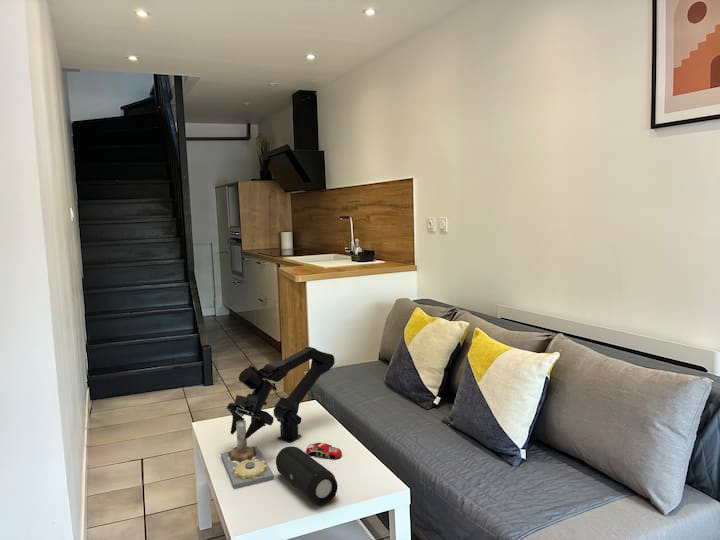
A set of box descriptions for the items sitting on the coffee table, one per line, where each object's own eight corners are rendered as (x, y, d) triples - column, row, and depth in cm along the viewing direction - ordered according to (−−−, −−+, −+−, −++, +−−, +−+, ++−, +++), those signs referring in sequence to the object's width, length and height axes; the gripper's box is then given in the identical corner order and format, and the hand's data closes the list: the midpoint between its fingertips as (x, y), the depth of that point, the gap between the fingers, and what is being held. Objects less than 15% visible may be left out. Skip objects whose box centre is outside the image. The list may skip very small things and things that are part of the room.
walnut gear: (258, 449, 195) (257, 416, 193) (254, 462, 185) (252, 427, 184) (232, 450, 195) (230, 416, 193) (225, 462, 185) (223, 428, 183)
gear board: (221, 457, 193) (220, 446, 192) (257, 449, 198) (256, 439, 198) (234, 489, 171) (233, 476, 171) (274, 479, 176) (273, 467, 176)
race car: (344, 454, 193) (344, 444, 192) (338, 461, 188) (338, 450, 187) (311, 449, 198) (310, 439, 197) (304, 456, 193) (304, 445, 192)
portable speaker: (274, 477, 178) (272, 448, 177) (300, 468, 184) (299, 440, 183) (312, 512, 157) (310, 479, 156) (340, 500, 163) (339, 469, 162)
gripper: (228, 380, 195) (206, 420, 188) (266, 389, 185) (244, 432, 177) (246, 395, 203) (225, 433, 195) (282, 404, 192) (262, 445, 185)
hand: (238, 436), depth 188 cm, fingers open, 7 cm apart
